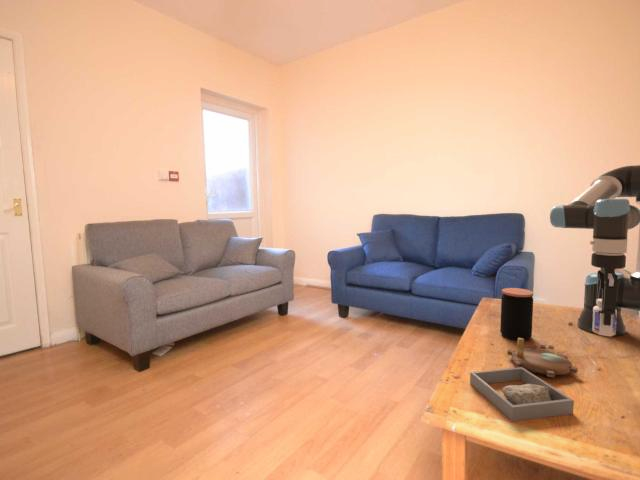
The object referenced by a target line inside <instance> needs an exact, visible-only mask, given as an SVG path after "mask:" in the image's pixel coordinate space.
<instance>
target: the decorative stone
mask: <svg viewBox="0 0 640 480" xmlns="http://www.w3.org/2000/svg"><path fill="white" fill-rule="evenodd" d="M501 392H502V393H503V397H504V398H505V399H506V400H508V401H509V402H510V403H511V404H513V405H519V404H528V403H537V402H545V401H552V400H551V398H550V396H549V393H548V388H547V387H545V386H540V385H534V384H526V383H525V384H521V385H519V384H518V385H517V384H514V385H513V384H509V385H506V386H503V387H502V388H501Z"/></svg>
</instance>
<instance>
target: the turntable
mask: <svg viewBox="0 0 640 480" xmlns="http://www.w3.org/2000/svg"><path fill="white" fill-rule="evenodd" d="M516 344H517V345H516V349H515V350H512V349H508V350H507V355H508V356H511V360H512V361H513V363H512V365H513V366H514V367H515V368H518V367H523V368H524V369H528V370H530V371H534V372H537V373H542V374H546V375H545V376H546V377H550V378H556V377H555V376H562V375H568V374H569V373H572V374H574V375H575V374H577V373H578V372H579V370H578V369H579V368H578V367H576V366H573V364H572V362H571V361H570V360H569V359H568V355H565V354H563V353H561V354H558V353H555V352H553V351H552V352H551V351H548V350H544V349H538V348H536V347H535V346H528V348H526V347H525V341H524V339H523V338H518V341H517V343H516ZM528 370H527V371H528ZM530 371H529V372H530Z"/></svg>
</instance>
